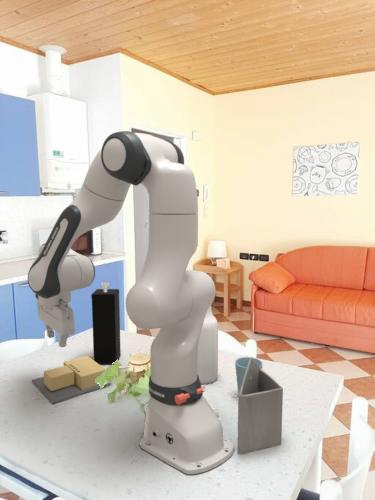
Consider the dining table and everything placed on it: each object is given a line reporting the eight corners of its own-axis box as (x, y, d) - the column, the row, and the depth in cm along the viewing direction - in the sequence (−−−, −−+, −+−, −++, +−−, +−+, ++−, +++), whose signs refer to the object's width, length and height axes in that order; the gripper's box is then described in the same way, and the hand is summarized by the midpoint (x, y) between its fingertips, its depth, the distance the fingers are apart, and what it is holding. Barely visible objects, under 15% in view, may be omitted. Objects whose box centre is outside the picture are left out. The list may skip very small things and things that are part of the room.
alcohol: (208, 387, 119) (209, 289, 115) (184, 380, 124) (184, 286, 120) (222, 376, 126) (223, 284, 123) (199, 370, 131) (199, 281, 127)
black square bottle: (116, 365, 135) (114, 284, 132) (93, 364, 136) (90, 284, 132) (120, 356, 143) (119, 279, 140) (99, 356, 143) (96, 279, 140)
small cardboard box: (74, 384, 119) (73, 371, 119) (51, 391, 115) (50, 378, 115) (66, 377, 124) (66, 365, 124) (44, 383, 120) (43, 371, 119)
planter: (272, 464, 84) (274, 377, 82) (236, 453, 88) (238, 370, 86) (288, 425, 99) (291, 351, 96) (257, 417, 102) (259, 345, 100)
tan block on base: (111, 385, 120) (111, 371, 120) (52, 404, 109) (51, 388, 109) (86, 366, 134) (85, 353, 134) (31, 381, 123) (31, 367, 123)
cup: (267, 400, 111) (268, 364, 110) (244, 406, 108) (244, 369, 107) (252, 388, 118) (252, 355, 117) (230, 394, 115) (230, 359, 114)
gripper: (79, 302, 110) (81, 349, 112) (53, 288, 126) (54, 330, 128) (57, 305, 106) (59, 355, 108) (32, 291, 122) (34, 334, 124)
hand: (56, 341), depth 118 cm, fingers open, 8 cm apart
